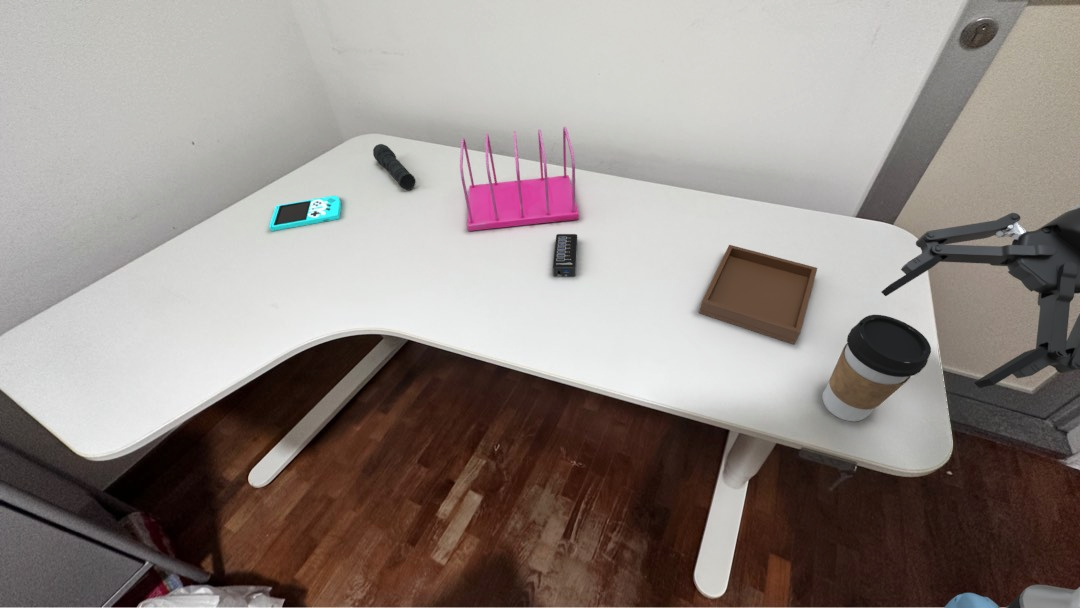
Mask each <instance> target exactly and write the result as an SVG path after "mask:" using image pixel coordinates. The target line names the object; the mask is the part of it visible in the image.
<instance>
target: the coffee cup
mask: <svg viewBox="0 0 1080 608" xmlns="http://www.w3.org/2000/svg"><path fill="white" fill-rule="evenodd" d="M846 342H847V343H845V345H844V347H843V348H842V351H841V353H840V354H839V355H840V356H839V358H838V360H837V362H836V364H835V366H834V369H833V371H832V373H831V375H830V377H829V380H828V382H827V384H826V386H825V388H824V390H823V393H822V396H821V397H822V403H823V405H824V407H825V408H826V410H827V411H829V413H831V414H832V415H833V416H835V417H837V418H838V419H841V420H843V421H847V422H860V421H862V420H864V419H866V418H867V417H868V416H870V414H871V413H873V411H875V410H876V408H878V407H879V406H880V405H882V403H884V402H885V401H886V400H888V399H889V398H890V397H891V396H892V395H893V394H894V393H895V392H896V391H898V390H899V389H900V388H901V387H902V386H903V385H905V383H907V382H908V381H909V380H910V379H911V377H912V376H916V375H918V374H919V373H920V372H921V371H922V370H923V369H924V368H925V367H926V366H927V364H928V362H929V358H930V355H931V353H932V347H931V344H930V342H929V340H928V339H927V338H926V336H925V335H923V333H921V332H920V331H919V330H918V329H916V328H915V327H913V326H912V325H910V324H908V323H906V322H904V321H901V320H900V319H898V318H894V317H893V316H892V317H891V316H887V315H882V314H869V315H867V316H865V317H863V318H862V319H860V320H859V322H858V323H857V324H856V325H854V326H853V327H852V328H851V329H850V331H849V333H848V334H847V338H846Z"/></svg>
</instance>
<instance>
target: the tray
mask: <svg viewBox="0 0 1080 608" xmlns="http://www.w3.org/2000/svg"><path fill="white" fill-rule="evenodd" d="M817 271H818V267H816V266H812V265H809V264H805V263H801V262H798V261H797V262H796V261H793V260H789V259H785V258H781V257H778V256H774V255H770V254H767V253H763V252H759V251H756V250H751V249H747V248H744V247H739V246H736V245H732V244H728V246H727V248H726V250H725V253H724V254H723V256H722V258H721V260H720V263H719V265H718V267H717V269H716V271H715V273H714V275H713V278H712V280H711V281H710V283H709V285H708V288H707V289H706V291H705V294H704V296H703V297H702V300H701V303H700V305H699V311H698V314H700V315H704V316H706V317H709V318H712V319H715V320H718V321H721V322H725V323H727V324H730V325H733V326H736V327H739V328H743V329H745V330H748V331H752V332H754V333H757V334H760V335H762V336H763V335H764V336H766V337H770V338H773V339H776V340H778V341H782V342H784V343H787V344H791V345H795V344H796V342H797V340H798V338H799V336H800V334H801V333H802V332H801V331H802V328H803V325H804V321H805V316H806V313H807V309H808V306H809V302H810V298H811V295H812V290H813V286H814V282H815V279H816V276H817Z"/></svg>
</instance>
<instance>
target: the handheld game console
mask: <svg viewBox="0 0 1080 608" xmlns="http://www.w3.org/2000/svg"><path fill="white" fill-rule="evenodd" d="M341 211H342V201H341V199H340V197H338V196H337V195H329V196H322V197H318V198H312V199H305V200H301V201H293V202H289V203H284V204H279V205H277V204H276V205H275V207H274V210H273V213H272V215H271V220H270V222H269V226H268V228H269V230H270V231H271V232H274V231H275V232H276V231H280V230H286V229H291V228H297V227H302V226H308V225H313V224H320V223H324V222H330V221H335V220H340V218H341Z"/></svg>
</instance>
